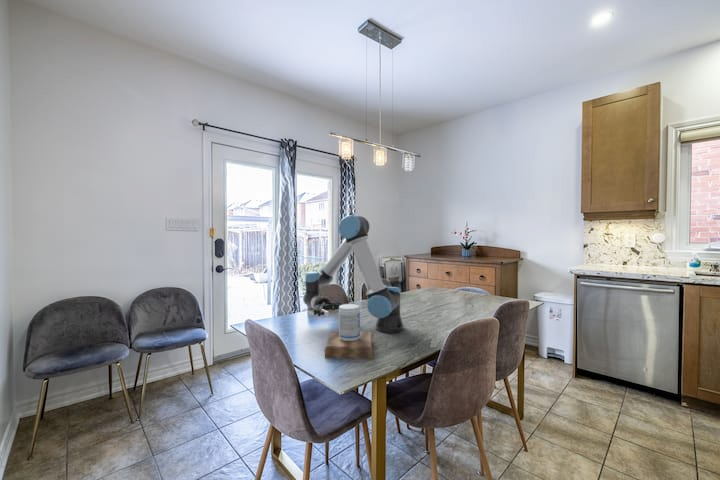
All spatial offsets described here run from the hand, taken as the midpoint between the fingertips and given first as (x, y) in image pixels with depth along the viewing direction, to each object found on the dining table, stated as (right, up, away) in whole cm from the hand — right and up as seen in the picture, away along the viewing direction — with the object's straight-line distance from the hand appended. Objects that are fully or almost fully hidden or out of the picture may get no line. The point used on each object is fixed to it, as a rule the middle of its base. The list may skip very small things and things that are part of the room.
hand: (340, 312), depth 145 cm
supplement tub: (+4, -10, -6) cm, 13 cm away
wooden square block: (+4, -15, -6) cm, 17 cm away
